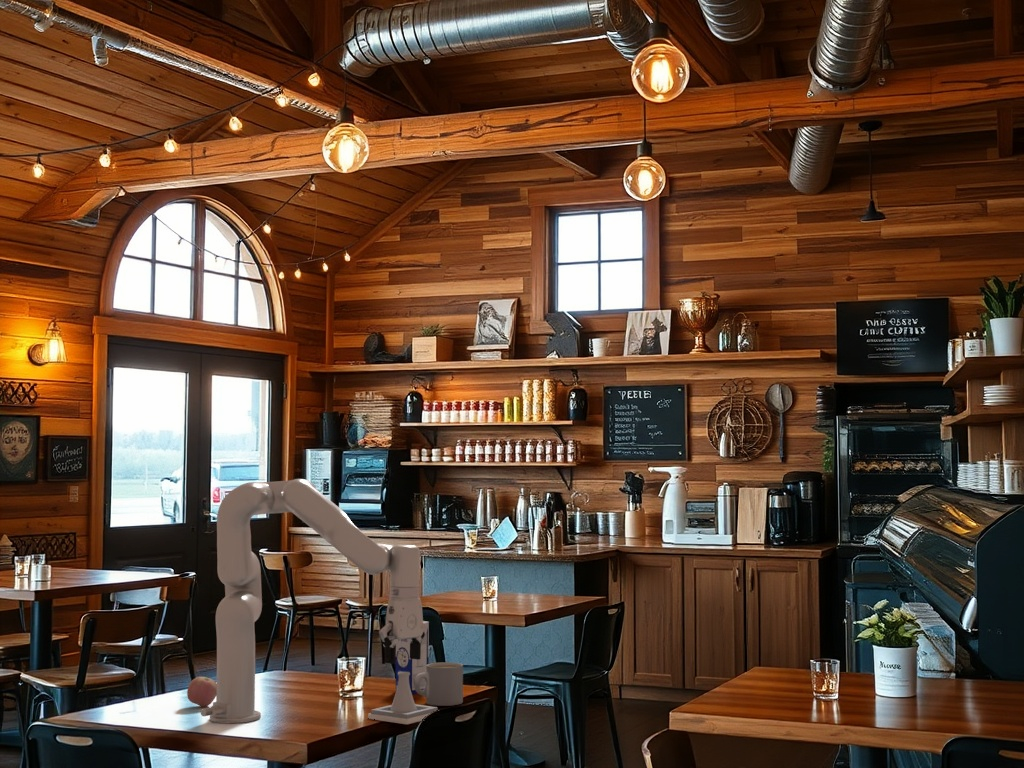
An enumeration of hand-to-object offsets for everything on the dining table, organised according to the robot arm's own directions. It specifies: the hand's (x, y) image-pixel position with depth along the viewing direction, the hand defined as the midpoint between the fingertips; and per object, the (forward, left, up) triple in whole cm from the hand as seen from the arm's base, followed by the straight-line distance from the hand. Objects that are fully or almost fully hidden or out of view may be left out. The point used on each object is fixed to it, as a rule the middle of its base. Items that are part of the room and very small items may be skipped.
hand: (402, 661), depth 306 cm
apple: (-20, +54, -14) cm, 59 cm away
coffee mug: (+21, +6, -14) cm, 26 cm away
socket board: (0, 0, -14) cm, 14 cm away
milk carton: (+30, +23, -14) cm, 40 cm away
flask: (0, 0, -13) cm, 13 cm away
